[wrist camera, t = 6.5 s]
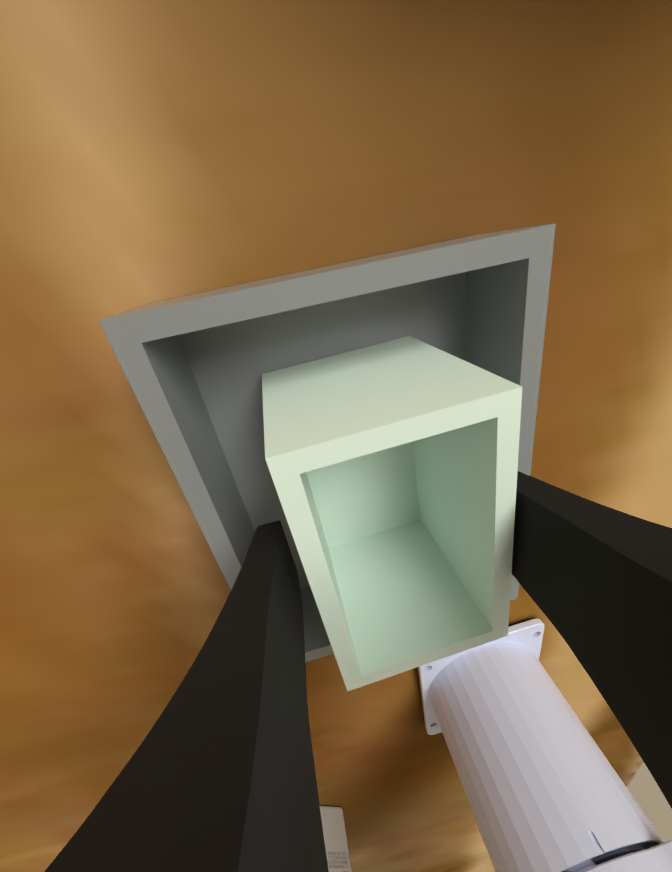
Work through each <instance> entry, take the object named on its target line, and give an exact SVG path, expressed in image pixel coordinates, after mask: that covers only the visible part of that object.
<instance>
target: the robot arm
mask: <svg viewBox="0 0 672 872" xmlns="http://www.w3.org/2000/svg"><path fill="white" fill-rule="evenodd" d="M512 575H513V576H514V577H515V578H516V579H517V581H518V582H519V583H520V584H521V586H522V587H523V588H524V589H525V590H526V592H527V593H528V594H529V595H530V597H531V598H532V599H533V600H534V601H535V603H536V604H537V605H538V606H539V608H540V609H541V610H542V611H543V612H544V614H545V615H546V616H547V617H548V619H549V620H550V621H551V622H552V624H553V625H554V626H555V628H556V629H557V630H558V632H559V633H560V634H561V636H562V637H563V638H564V640H565V641H566V642H567V644H568V645H569V647H570V648H571V650H572V651H573V653H574V654H575V656H576V657H577V659H578V660H579V662H580V663H581V664H582V666H583V667H584V669H585V670H586V672H587V673H588V675H589V676H590V678H591V679H592V681H593V682H594V684H595V685H596V687H597V688H598V690H599V691H600V693H601V695H602V696H603V698H604V699H605V701H606V702H607V704H608V705H609V707H610V708H611V710H612V711H613V713H614V715H615V716H616V718H617V719H618V721H619V722H620V724H621V725H622V727H623V729H624V730H625V732H626V734H627V735H628V737H629V738H630V740H631V742H632V743H633V745H634V747H635V748H636V750H637V751H638V753H639V755H640V756H641V758H642V759H643V761H644V763H645V764H646V766H647V767H648V769H649V771H650V772H651V774H652V776H653V777H654V779H655V781H656V782H657V784H658V786H659V787H660V789H661V791H662V792H663V794H664V796H665V798H666V799H667V801H668V803H669V805H670V806H671V808H672V528H669V527H666V526H662V525H659V524H656V523H652V522H649V521H646V520H643V519H640V518H637V517H634V516H631V515H628V514H626V513H623V512H620V511H617V510H614V509H612V508H609V507H606V506H603V505H601V504H598V503H595V502H593V501H590V500H587V499H585V498H582V497H580V496H577V495H575V494H572V493H570V492H567V491H565V490H562V489H560V488H557V487H555V486H553V485H550V484H548V483H545V482H543V481H541V480H538V479H536V478H534V477H531V476H529V475H526V474H524V473H522V472H519V471H517V488H516V505H515V522H514V539H513V556H512ZM543 632H544V624H543V622H542V621H541V620H540V619H532V620H528V621H525V622H522V623H519V624H515V625H512V626H509V627H508V636H505V637H503V638H500V639H497V640H494V641H491V642H488V643H485V644H482V645H480V646H477V647H474V648H471V649H468V650H465V651H462V652H460V653H457V654H454V655H451V656H448V657H445V658H442V659H439V660H437V661H434V662H431V663H428V664H425V665H422V666H419V667H418V672H419V680H420V688H421V696H422V704H423V712H424V720H425V728H426V731H427V733H428V734H429V735H435V734H438V733H441V732H442V733H443V736H444V738H445V741H446V744H447V746H448V749H449V752H450V754H451V757H452V759H453V762H454V765H455V767H456V770H457V773H458V775H459V778H460V781H461V783H462V786H463V789H464V791H465V794H466V797H467V799H468V802H469V804H470V807H471V810H472V812H473V815H474V818H475V820H476V823H477V826H478V828H479V831H480V834H481V836H482V839H483V841H484V844H485V846H486V848H487V850H488V853H489V855H490V858H491V861H492V863H493V866H494V869H495V871H496V872H672V841H670V840H669V841H667V842H664V841H663V840H662V838H661V837H660V835H659V834H658V833H657V831H656V830H655V828H654V827H653V825H652V824H651V822H650V821H649V820H648V818H647V817H646V815H645V814H644V812H643V811H642V809H641V808H640V806H639V805H638V804H637V802H636V801H635V799H634V798H633V797H632V795H631V793H630V792H629V791H628V789H627V788H626V786H625V785H624V783H623V782H622V780H621V779H620V778H619V776H618V775H617V773H616V772H615V770H614V769H613V767H612V766H611V765H610V763H609V762H608V760H607V759H606V757H605V756H604V754H603V753H602V752H601V750H600V749H599V747H598V746H597V744H596V743H595V741H594V740H593V738H592V737H591V736H590V734H589V733H588V731H587V730H586V728H585V727H584V725H583V724H582V723H581V721H580V720H579V718H578V717H577V715H576V714H575V712H574V711H573V710H572V708H571V707H570V705H569V704H568V702H567V701H566V699H565V698H564V697H563V695H562V694H561V692H560V691H559V689H558V688H557V686H556V685H555V684H554V682H553V681H552V679H551V678H550V676H549V675H548V673H547V672H546V671H545V669H544V668H543V666H542V665H541V663H540V662H539V656H540V650H541V644H542V638H543ZM45 872H329V870H328V863H327V856H326V849H325V842H324V835H323V828H322V820H321V813H320V805H319V798H318V790H317V782H316V775H315V767H314V759H313V751H312V743H311V735H310V727H309V719H308V706H307V690H306V666H305V642H304V620H303V605H302V598H301V591H300V584H299V578H298V571H297V568H296V565H295V563H294V560H293V557H292V554H291V551H290V548H289V545H288V542H287V539H286V536H285V533H284V530H283V527H282V524H281V521H280V520H279V521H275V522H271V523H267V524H264V525H260V526H258V527H257V529H256V530H255V533H254V536H253V539H252V541H251V544H250V547H249V550H248V552H247V555H246V557H245V560H244V562H243V565H242V567H241V569H240V572H239V574H238V576H237V579H236V581H235V583H234V585H233V588H232V590H231V592H230V594H229V596H228V599H227V601H226V603H225V605H224V607H223V609H222V611H221V613H220V615H219V617H218V619H217V621H216V623H215V625H214V627H213V628H212V630H211V632H210V634H209V636H208V638H207V640H206V642H205V643H204V645H203V647H202V649H201V651H200V652H199V654H198V656H197V658H196V659H195V661H194V663H193V664H192V666H191V668H190V670H189V671H188V673H187V675H186V676H185V678H184V680H183V681H182V683H181V684H180V686H179V688H178V689H177V691H176V692H175V694H174V695H173V697H172V698H171V700H170V702H169V703H168V705H167V706H166V708H165V709H164V711H163V712H162V714H161V716H160V717H159V719H158V720H157V722H156V723H155V725H154V726H153V728H152V729H151V731H150V732H149V733H148V735H147V736H146V738H145V739H144V741H143V742H142V744H141V745H140V747H139V748H138V749H137V751H136V752H135V753H134V755H133V756H132V758H131V759H130V760H129V762H128V763H127V764H126V766H125V767H124V769H123V770H122V771H121V773H120V774H119V775H118V777H117V778H116V779H115V781H114V782H113V784H112V785H111V786H110V788H109V789H108V790H107V792H106V793H105V795H104V796H103V797H102V799H101V800H100V801H99V803H98V804H97V805H96V807H95V808H94V810H93V811H92V812H91V814H90V815H89V816H88V817H87V819H86V820H85V821H84V823H83V824H82V825H81V827H80V828H79V829H78V831H77V832H76V833H75V834H74V836H73V837H72V838H71V839H70V841H69V842H68V843H67V844H66V846H65V847H64V848H63V849H62V851H61V852H60V853H59V854H58V856H57V857H56V858H55V859H54V861H53V862H52V863H51V864H50V866H49V867H48V868H47V869H46V871H45Z"/></svg>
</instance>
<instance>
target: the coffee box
mask: <svg viewBox="0 0 672 872" xmlns="http://www.w3.org/2000/svg"><path fill="white" fill-rule="evenodd" d="M320 813H321V820H322V828H323V835H324V842H325V849H326V856H327V863H328V870H329V872H352V871H351V864H350V858H349V850H348V844H347V837H346V830H345V823H344V817H343V811H342V808H341V807H331V806H320Z"/></svg>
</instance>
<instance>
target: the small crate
mask: <svg viewBox="0 0 672 872" xmlns="http://www.w3.org/2000/svg"><path fill="white" fill-rule="evenodd" d="M262 397H263V420H264V443H265V460H266V463H267V465H268V468H269V471H270V474H271V477H272V480H273V482H274V485H275V488H276V491H277V494H278V497H279V499H280V502H281V505H282V508H283V511H284V513H285V516H286V519H287V522H288V525H289V528H290V530H291V533H292V536H293V539H294V542H295V545H296V547H297V550H298V553H299V556H300V559H301V562H302V564H303V567H304V570H305V573H306V576H307V579H308V581H309V584H310V587H311V590H312V593H313V595H314V598H315V601H316V604H317V607H318V610H319V612H320V615H321V618H322V621H323V624H324V627H325V629H326V632H327V635H328V638H329V641H330V644H331V646H332V649H333V652H334V655H335V658H336V660H337V663H338V666H339V669H340V672H341V675H342V677H343V680H344V683H345V686H346V689H347V692H348V691H351V690H353V689H356V688H359V687H362V686H365V685H368V684H371V683H374V682H376V681H379V680H382V679H385V678H388V677H391V676H394V675H396V674H399V673H402V672H405V671H408V670H411V669H414V668H417V667H419V666H422V665H425V664H428V663H431V662H434V661H437V660H439V659H442V658H445V657H448V656H451V655H454V654H457V653H460V652H462V651H465V650H468V649H471V648H474V647H477V646H480V645H482V644H485V643H488V642H491V641H494V640H497V639H500V638H503V637H505V636H508V623H509V606H510V589H511V573H512V556H513V539H514V522H515V505H516V488H517V471H518V454H519V437H520V420H521V403H522V386H520V385H517V384H515V383H513V382H511V381H509V380H506V379H504V378H502V377H500V376H498V375H495V374H493V373H491V372H489V371H486V370H484V369H482V368H480V367H478V366H475V365H473V364H471V363H469V362H467V361H464V360H462V359H460V358H458V357H455V356H453V355H451V354H449V353H447V352H444V351H442V350H440V349H438V348H436V347H433V346H431V345H429V344H427V343H424V342H422V341H420V340H418V339H416V338H413V337H411V336H407V337H403V338H399V339H396V340H392V341H388V342H384V343H380V344H376V345H372V346H368V347H365V348H361V349H357V350H353V351H349V352H345V353H341V354H337V355H333V356H330V357H326V358H322V359H318V360H314V361H310V362H306V363H302V364H299V365H295V366H291V367H287V368H283V369H279V370H275V371H271V372H268V373H264V374H262Z"/></svg>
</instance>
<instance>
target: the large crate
mask: <svg viewBox="0 0 672 872" xmlns="http://www.w3.org/2000/svg"><path fill="white" fill-rule="evenodd" d="M555 226H556V223H555V224H548V225H541V226H534V227H527V228H520V229H513V230H506V231H499V232H492V233H485V234H478V235H472V236H467V237H463V238H458V239H453V240H448V241H444V242H439V243H434V244H429V245H425V246H420V247H415V248H410V249H406V250H401V251H396V252H391V253H387V254H382V255H377V256H372V257H368V258H363V259H358V260H353V261H349V262H344V263H339V264H335V265H330V266H325V267H320V268H316V269H311V270H306V271H301V272H297V273H292V274H287V275H282V276H278V277H273V278H268V279H263V280H259V281H254V282H249V283H244V284H240V285H235V286H230V287H225V288H221V289H216V290H211V291H206V292H202V293H197V294H192V295H187V296H183V297H178V298H173V299H168V300H164V301H159V302H154V303H149V304H146V305H143V306H140V307H137V308H134V309H131V310H128V311H125V312H122V313H119V314H116V315H113V316H110V317H107V318H104V319H101V320H99V322H100V324H101V326H102V328H103V330H104V332H105V334H106V336H107V338H108V341H109V343H110V345H111V347H112V349H113V351H114V353H115V355H116V357H117V359H118V361H119V363H120V365H121V367H122V369H123V371H124V373H125V375H126V377H127V379H128V381H129V383H130V385H131V388H132V390H133V392H134V394H135V396H136V398H137V400H138V402H139V404H140V406H141V408H142V410H143V412H144V414H145V416H146V418H147V420H148V422H149V424H150V426H151V428H152V430H153V432H154V435H155V437H156V439H157V441H158V443H159V445H160V447H161V449H162V451H163V453H164V455H165V457H166V459H167V461H168V463H169V465H170V467H171V469H172V471H173V473H174V475H175V477H176V480H177V482H178V484H179V486H180V488H181V490H182V492H183V494H184V496H185V498H186V500H187V502H188V504H189V506H190V508H191V510H192V512H193V514H194V516H195V518H196V520H197V522H198V524H199V527H200V529H201V531H202V533H203V535H204V537H205V539H206V541H207V543H208V545H209V547H210V549H211V551H212V553H213V555H214V557H215V559H216V561H217V563H218V565H219V567H220V569H221V571H222V574H223V576H224V578H225V580H226V582H227V584H228V586H229V588H230V590H232V588H233V585H234V583H235V581H236V579H237V576H238V574H239V572H240V569H241V567H242V565H243V562H244V560H245V557H246V555H247V552H248V550H249V547H250V544H251V541H252V539H253V536H254V533H255V530H256V529H257V527H258V526H260V525H264V524H267V523H271V522H275V521H279V520H280V521H281V524H282V527H283V530H284V533H285V536H286V539H287V542H288V545H289V548H290V551H291V554H292V557H293V560H294V563H295V565H296V568H297V571H298V578H299V584H300V591H301V598H302V605H303V620H304V642H305V662H309V661H312V660H315V659H319V658H322V657H325V656H329V655H332V654H334V652H333V649H332V646H331V644H330V641H329V638H328V635H327V632H326V629H325V627H324V624H323V621H322V618H321V615H320V612H319V610H318V607H317V604H316V601H315V598H314V595H313V593H312V590H311V587H310V584H309V581H308V579H307V576H306V573H305V570H304V567H303V564H302V562H301V559H300V556H299V553H298V550H297V547H296V545H295V542H294V539H293V536H292V533H291V530H290V528H289V525H288V522H287V519H286V516H285V513H284V511H283V508H282V505H281V502H280V499H279V497H278V494H277V491H276V488H275V485H274V482H273V480H272V477H271V474H270V471H269V468H268V465H267V463H266V460H265V443H264V420H263V397H262V374H264V373H268V372H271V371H275V370H279V369H283V368H287V367H291V366H295V365H299V364H302V363H306V362H310V361H314V360H318V359H322V358H326V357H330V356H333V355H337V354H341V353H345V352H349V351H353V350H357V349H361V348H365V347H368V346H372V345H376V344H380V343H384V342H388V341H392V340H396V339H399V338H403V337H407V336H411V337H413V338H416V339H418V340H420V341H422V342H424V343H427V344H429V345H431V346H433V347H436V348H438V349H440V350H442V351H444V352H447V353H449V354H451V355H453V356H455V357H458V358H460V359H462V360H464V361H467V362H469V363H471V364H473V365H475V366H478V367H480V368H482V369H484V370H486V371H489V372H491V373H493V374H495V375H498V376H500V377H502V378H504V379H506V380H509V381H511V382H513V383H515V384H517V385H520V386H522V403H521V420H520V437H519V454H518V471H519V472H522V473H524V474H526V475H529V476H530V472H531V462H532V453H533V443H534V433H535V423H536V413H537V403H538V393H539V383H540V374H541V364H542V354H543V344H544V334H545V324H546V314H547V305H548V295H549V285H550V275H551V265H552V255H553V245H554V236H555ZM518 591H519V582H518V581H517V579H516V578H515V577H514V576H513V575H512V573H511V589H510V601H511V600H514V599H517V598H518Z"/></svg>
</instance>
